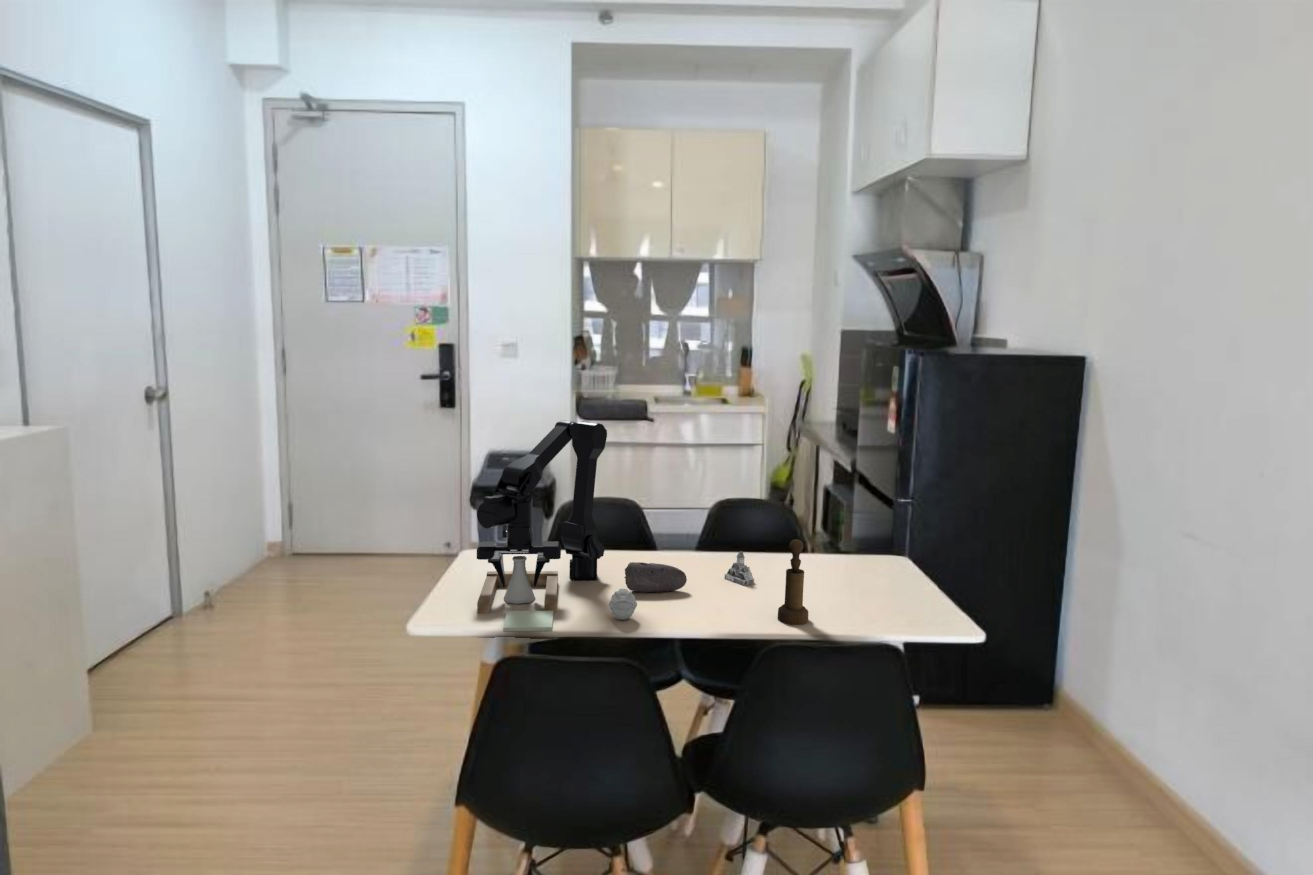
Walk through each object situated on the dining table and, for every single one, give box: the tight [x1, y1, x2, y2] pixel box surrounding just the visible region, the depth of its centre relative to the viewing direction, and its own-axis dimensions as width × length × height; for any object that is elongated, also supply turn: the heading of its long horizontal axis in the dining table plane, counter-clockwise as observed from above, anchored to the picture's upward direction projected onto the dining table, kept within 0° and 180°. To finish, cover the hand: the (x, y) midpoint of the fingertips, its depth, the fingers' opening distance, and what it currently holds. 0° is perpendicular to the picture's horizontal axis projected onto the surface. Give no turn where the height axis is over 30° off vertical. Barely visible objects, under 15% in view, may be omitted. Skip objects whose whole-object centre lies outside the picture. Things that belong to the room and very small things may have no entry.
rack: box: [476, 570, 559, 614], centre depth 195 cm, size 17×21×3 cm
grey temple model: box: [724, 550, 755, 586], centre depth 213 cm, size 9×9×8 cm
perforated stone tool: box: [624, 561, 688, 593], centre depth 202 cm, size 15×5×7 cm, turn 92°
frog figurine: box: [608, 588, 638, 621], centre depth 182 cm, size 6×7×7 cm
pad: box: [502, 610, 554, 632], centre depth 179 cm, size 10×10×1 cm
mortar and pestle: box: [777, 539, 809, 626], centre depth 183 cm, size 7×6×18 cm
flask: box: [503, 555, 536, 605], centre depth 193 cm, size 7×7×10 cm
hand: (519, 586), depth 194 cm, fingers open, 7 cm apart
